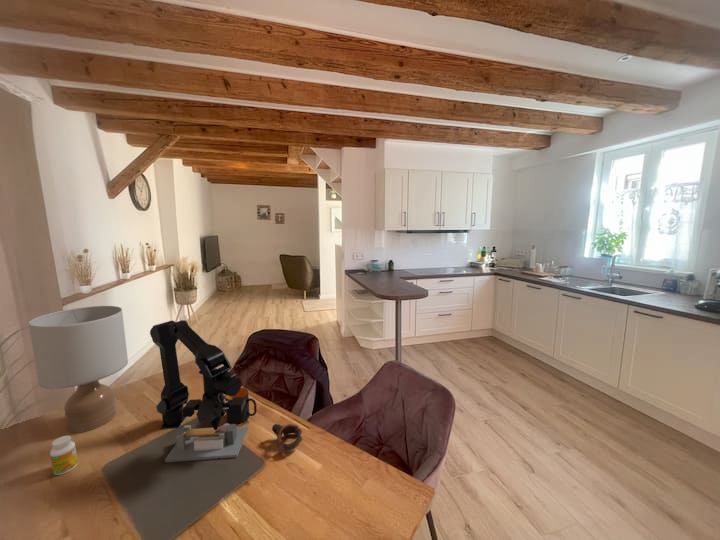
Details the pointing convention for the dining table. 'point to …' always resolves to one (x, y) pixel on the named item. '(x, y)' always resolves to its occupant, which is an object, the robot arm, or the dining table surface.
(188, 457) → the board
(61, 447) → the supplement bottle
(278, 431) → the vr controller
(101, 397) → the lamp
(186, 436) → the strap
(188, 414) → the robot arm
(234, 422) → the mug
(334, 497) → the dining table surface
